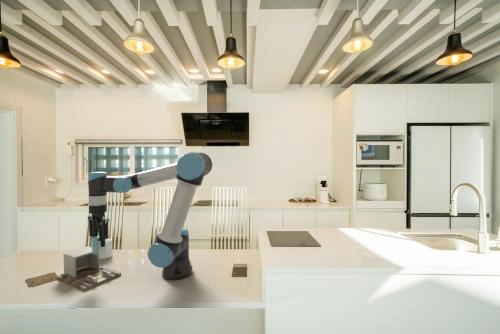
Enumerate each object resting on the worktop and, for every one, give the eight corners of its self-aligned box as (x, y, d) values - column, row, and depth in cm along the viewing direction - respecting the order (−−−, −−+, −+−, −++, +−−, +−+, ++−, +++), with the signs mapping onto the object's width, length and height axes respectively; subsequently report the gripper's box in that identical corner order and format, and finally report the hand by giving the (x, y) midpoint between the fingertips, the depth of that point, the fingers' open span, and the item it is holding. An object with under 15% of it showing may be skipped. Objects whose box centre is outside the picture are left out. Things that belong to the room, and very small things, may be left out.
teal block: (105, 252, 129) (105, 236, 129) (97, 255, 126) (96, 238, 125) (100, 250, 131) (100, 234, 131) (92, 253, 128) (92, 237, 127)
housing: (99, 268, 139) (99, 249, 139) (74, 278, 129) (74, 257, 128) (88, 265, 144) (88, 246, 144) (64, 273, 133) (63, 253, 133)
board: (121, 275, 135) (121, 268, 135) (84, 291, 119) (84, 283, 119) (93, 265, 147) (93, 259, 147) (57, 278, 131) (56, 271, 131)
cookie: (29, 289, 122) (29, 286, 122) (24, 280, 130) (24, 278, 130) (60, 280, 131) (60, 278, 131) (54, 273, 139) (54, 271, 139)
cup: (107, 259, 155) (106, 242, 155) (87, 259, 156) (87, 241, 156) (115, 254, 164) (115, 238, 163) (96, 253, 165) (96, 237, 164)
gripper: (116, 204, 126) (117, 253, 127) (95, 201, 135) (96, 247, 136) (100, 207, 120) (101, 258, 121) (79, 203, 128) (80, 251, 129)
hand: (98, 252), depth 128 cm, fingers closed on teal block, 4 cm apart
